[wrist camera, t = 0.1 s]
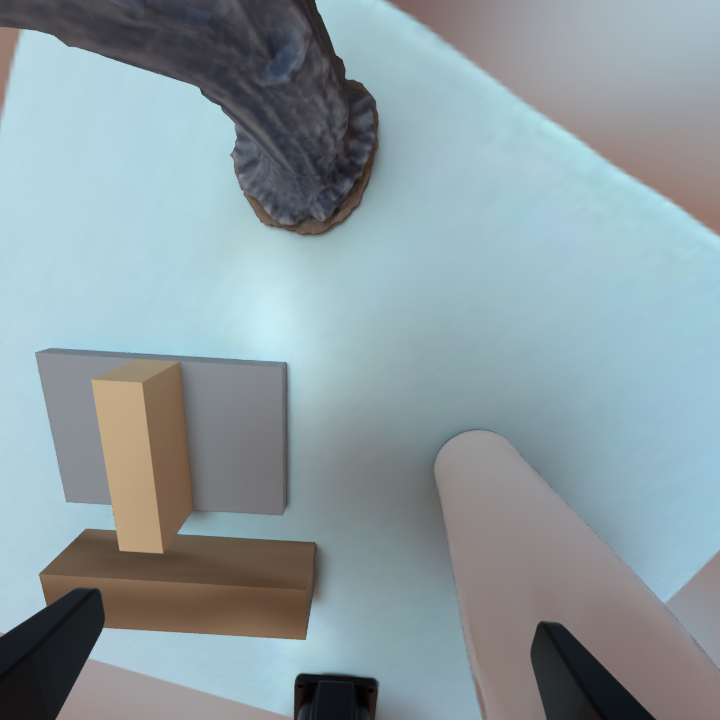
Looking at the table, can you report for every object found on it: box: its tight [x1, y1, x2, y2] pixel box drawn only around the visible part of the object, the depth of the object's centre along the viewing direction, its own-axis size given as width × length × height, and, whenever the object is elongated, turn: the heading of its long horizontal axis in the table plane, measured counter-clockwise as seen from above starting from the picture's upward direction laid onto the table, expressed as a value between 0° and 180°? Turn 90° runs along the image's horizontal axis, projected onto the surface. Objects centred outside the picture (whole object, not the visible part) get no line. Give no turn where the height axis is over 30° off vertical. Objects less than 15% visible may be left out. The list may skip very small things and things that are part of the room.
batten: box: [39, 529, 315, 640], centre depth 24 cm, size 4×16×4 cm, turn 87°
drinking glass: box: [434, 430, 720, 720], centre depth 16 cm, size 7×7×15 cm
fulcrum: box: [35, 348, 286, 553], centre depth 20 cm, size 10×14×4 cm
